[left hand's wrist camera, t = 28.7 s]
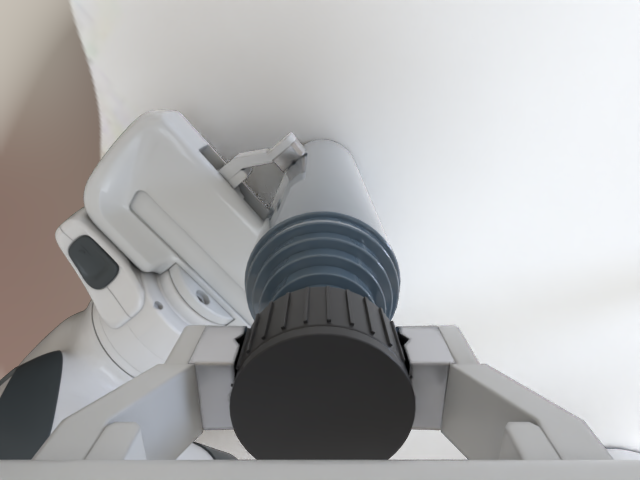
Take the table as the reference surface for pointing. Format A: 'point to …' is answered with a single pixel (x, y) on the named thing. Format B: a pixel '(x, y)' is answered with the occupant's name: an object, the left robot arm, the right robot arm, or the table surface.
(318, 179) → the bottle
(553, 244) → the table surface
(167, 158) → the right robot arm
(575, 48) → the table surface
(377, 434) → the cap
